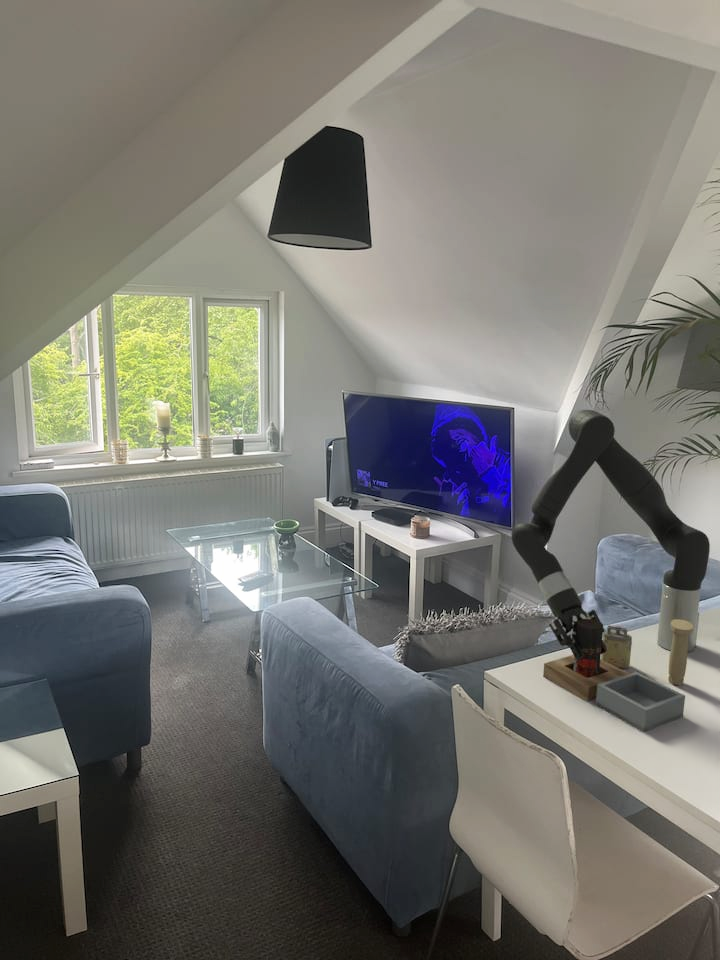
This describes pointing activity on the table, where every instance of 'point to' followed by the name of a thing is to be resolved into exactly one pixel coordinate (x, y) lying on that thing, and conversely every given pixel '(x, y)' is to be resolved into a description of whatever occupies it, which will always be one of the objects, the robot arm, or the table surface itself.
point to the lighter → (617, 647)
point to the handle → (679, 650)
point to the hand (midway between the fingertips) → (592, 655)
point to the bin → (640, 701)
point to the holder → (579, 677)
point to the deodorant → (589, 647)
